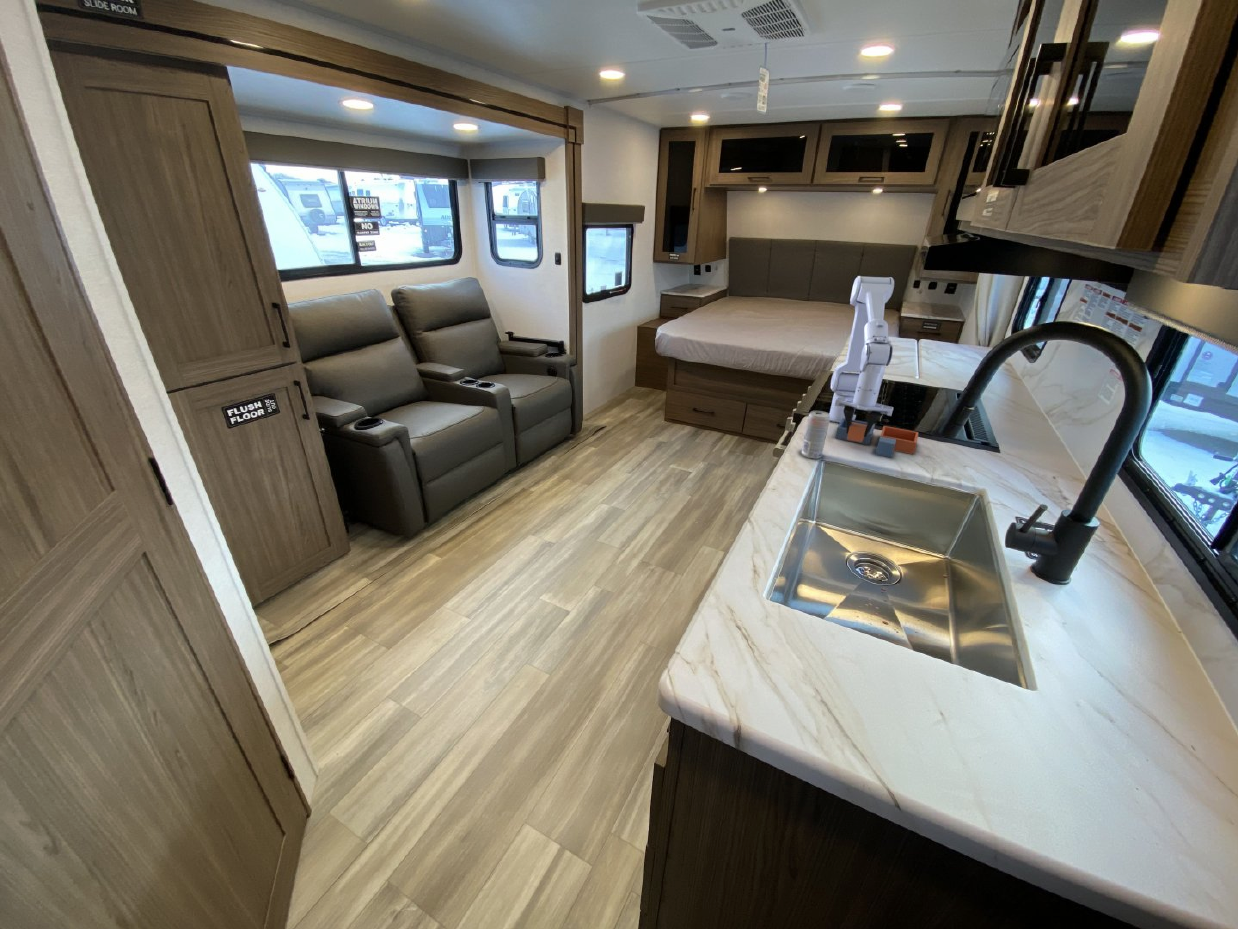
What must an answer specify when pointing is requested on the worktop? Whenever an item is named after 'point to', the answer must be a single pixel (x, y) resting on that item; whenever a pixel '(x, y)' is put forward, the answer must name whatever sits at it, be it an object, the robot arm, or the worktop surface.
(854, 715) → the worktop surface
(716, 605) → the worktop surface
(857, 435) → the rust block
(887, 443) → the slate block
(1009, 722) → the worktop surface
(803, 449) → the energy drink
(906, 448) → the rust bin
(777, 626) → the worktop surface
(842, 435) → the slate bin
